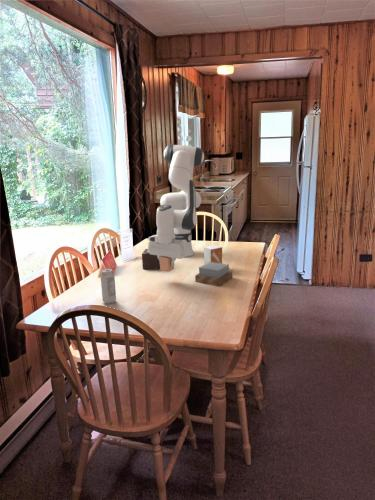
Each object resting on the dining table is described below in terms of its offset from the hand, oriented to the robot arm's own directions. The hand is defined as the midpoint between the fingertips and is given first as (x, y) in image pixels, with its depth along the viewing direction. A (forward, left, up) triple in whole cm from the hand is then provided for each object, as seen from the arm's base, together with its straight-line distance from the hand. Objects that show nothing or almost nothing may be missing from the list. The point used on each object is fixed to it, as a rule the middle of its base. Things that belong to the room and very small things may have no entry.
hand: (166, 264), depth 205 cm
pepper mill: (-22, +19, -9) cm, 30 cm away
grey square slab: (+20, +13, -6) cm, 25 cm away
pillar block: (0, 0, -3) cm, 3 cm away
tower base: (+20, +13, -10) cm, 26 cm away
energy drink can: (-8, -35, -9) cm, 37 cm away
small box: (+12, +27, -9) cm, 31 cm away
